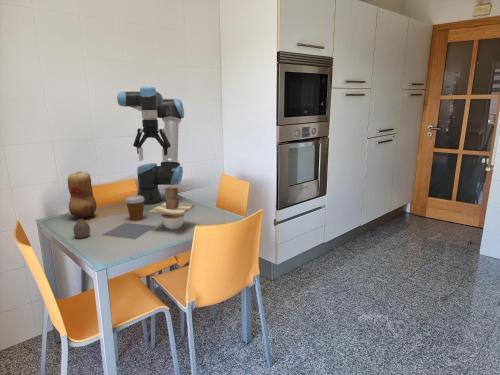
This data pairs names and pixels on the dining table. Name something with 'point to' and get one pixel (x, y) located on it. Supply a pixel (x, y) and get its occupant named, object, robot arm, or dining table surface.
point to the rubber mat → (129, 230)
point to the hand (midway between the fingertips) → (152, 161)
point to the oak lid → (172, 204)
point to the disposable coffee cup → (135, 207)
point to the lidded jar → (172, 221)
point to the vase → (81, 229)
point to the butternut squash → (81, 195)
